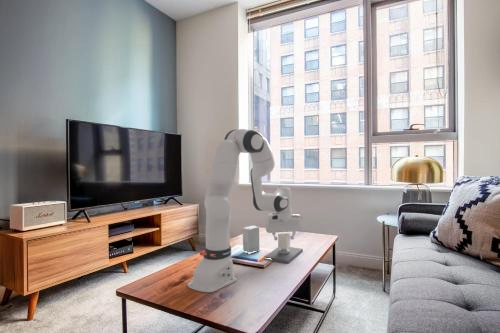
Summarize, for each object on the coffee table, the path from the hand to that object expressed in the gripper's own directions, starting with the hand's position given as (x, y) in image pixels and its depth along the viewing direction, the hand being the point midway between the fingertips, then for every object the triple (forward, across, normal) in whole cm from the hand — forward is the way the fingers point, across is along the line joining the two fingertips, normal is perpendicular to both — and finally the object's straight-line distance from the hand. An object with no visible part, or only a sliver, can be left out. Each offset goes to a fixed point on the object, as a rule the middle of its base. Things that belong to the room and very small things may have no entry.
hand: (283, 239), depth 163 cm
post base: (+9, 0, 0) cm, 9 cm away
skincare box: (+9, +17, -9) cm, 21 cm away
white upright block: (+4, 0, 0) cm, 4 cm away
